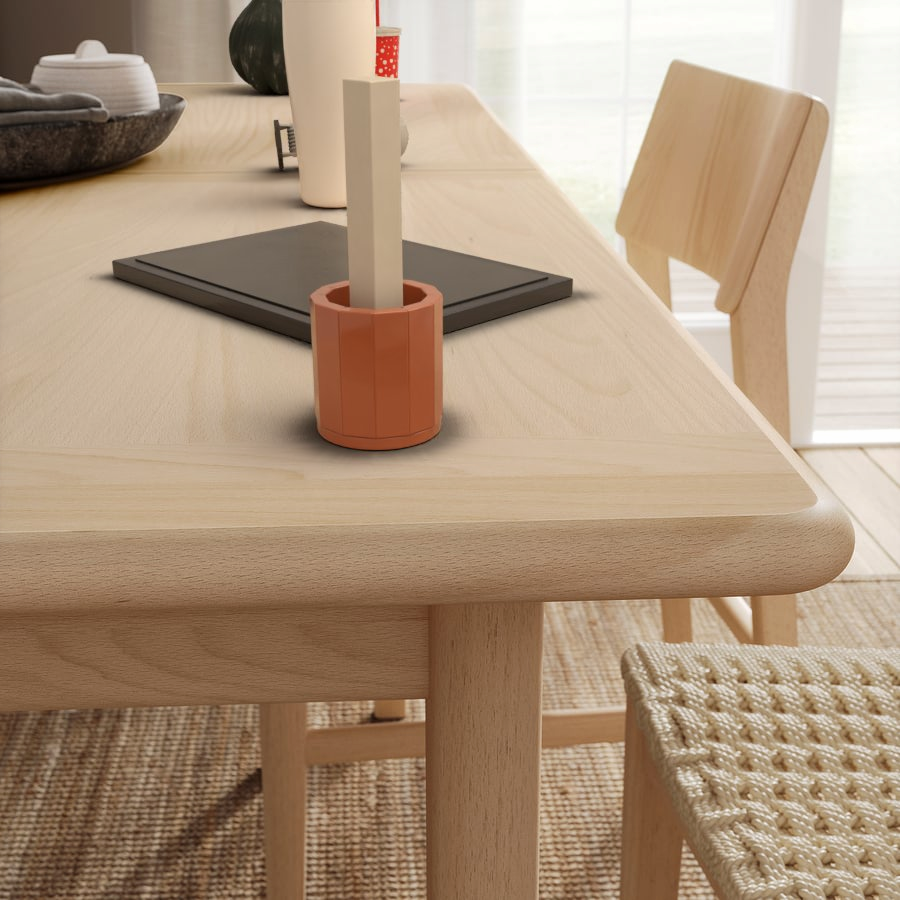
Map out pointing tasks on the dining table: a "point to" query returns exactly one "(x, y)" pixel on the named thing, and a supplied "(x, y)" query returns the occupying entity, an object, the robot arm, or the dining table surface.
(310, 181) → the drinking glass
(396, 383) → the pen pot
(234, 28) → the squash
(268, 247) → the tablet
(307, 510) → the dining table surface
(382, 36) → the beverage cup
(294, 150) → the clip-on lamp
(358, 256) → the stylus
